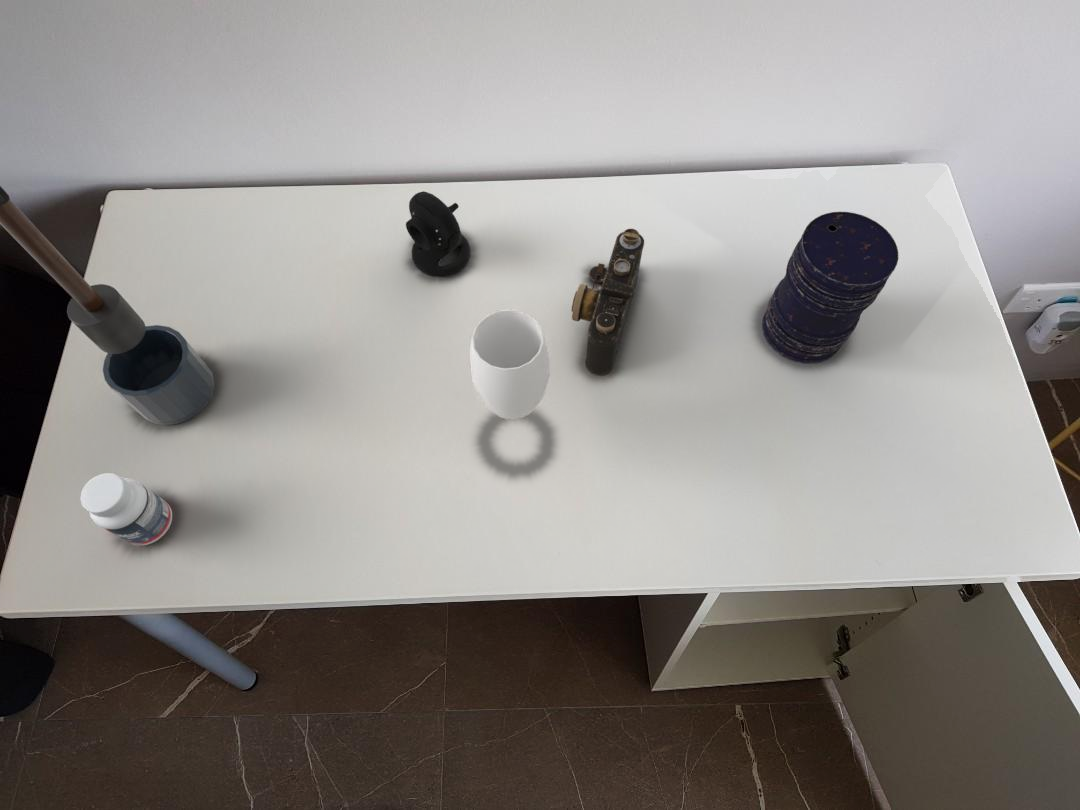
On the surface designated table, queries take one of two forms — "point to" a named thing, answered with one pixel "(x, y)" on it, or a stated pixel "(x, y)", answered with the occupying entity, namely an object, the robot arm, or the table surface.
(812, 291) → the navy stacked disc cylinder
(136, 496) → the pill bottle
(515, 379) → the white tall cylinder
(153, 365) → the gray open cylinder
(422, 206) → the webcam
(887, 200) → the table surface
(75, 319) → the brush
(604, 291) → the camera
